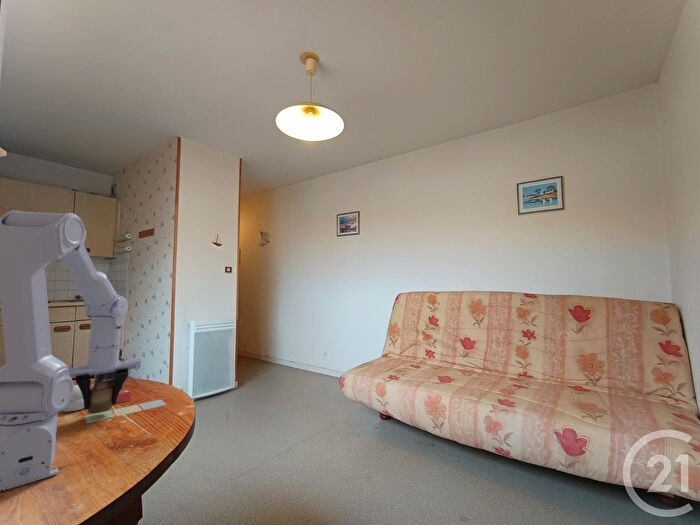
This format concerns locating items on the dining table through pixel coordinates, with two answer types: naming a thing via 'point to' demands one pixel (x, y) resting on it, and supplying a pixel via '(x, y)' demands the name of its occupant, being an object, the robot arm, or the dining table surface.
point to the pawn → (100, 397)
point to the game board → (123, 411)
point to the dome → (75, 401)
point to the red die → (123, 396)
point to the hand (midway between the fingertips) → (100, 405)
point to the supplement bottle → (108, 374)
